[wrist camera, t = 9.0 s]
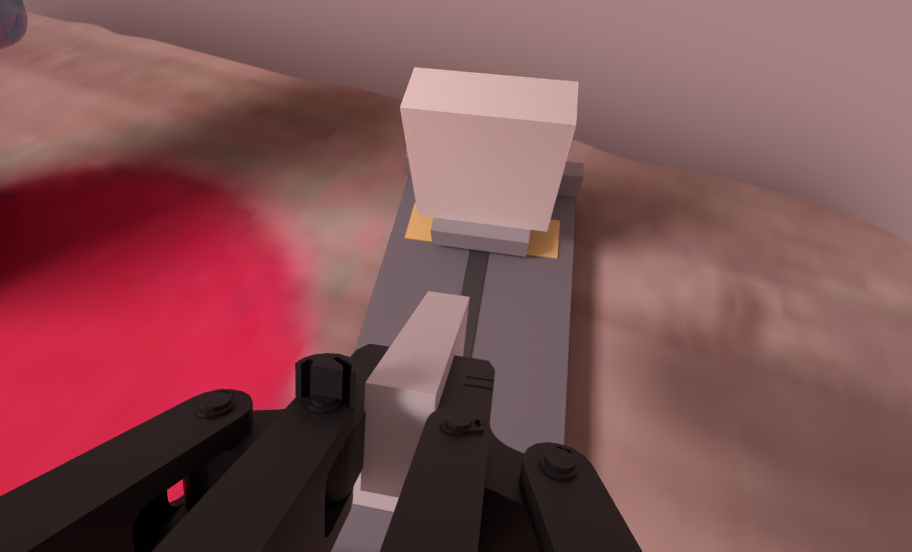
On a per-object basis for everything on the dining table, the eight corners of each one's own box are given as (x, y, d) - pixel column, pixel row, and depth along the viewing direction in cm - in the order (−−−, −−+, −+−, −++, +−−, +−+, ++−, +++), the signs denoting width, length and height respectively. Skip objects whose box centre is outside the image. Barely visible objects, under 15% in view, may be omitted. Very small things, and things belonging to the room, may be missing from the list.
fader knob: (541, 258, 26) (575, 140, 18) (417, 242, 27) (394, 122, 19) (547, 197, 29) (579, 68, 20) (432, 183, 30) (418, 55, 21)
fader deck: (545, 647, 19) (562, 676, 16) (295, 588, 20) (259, 603, 17) (570, 202, 32) (583, 163, 28) (415, 183, 33) (408, 144, 29)
